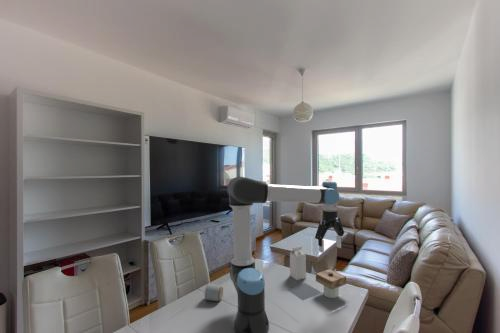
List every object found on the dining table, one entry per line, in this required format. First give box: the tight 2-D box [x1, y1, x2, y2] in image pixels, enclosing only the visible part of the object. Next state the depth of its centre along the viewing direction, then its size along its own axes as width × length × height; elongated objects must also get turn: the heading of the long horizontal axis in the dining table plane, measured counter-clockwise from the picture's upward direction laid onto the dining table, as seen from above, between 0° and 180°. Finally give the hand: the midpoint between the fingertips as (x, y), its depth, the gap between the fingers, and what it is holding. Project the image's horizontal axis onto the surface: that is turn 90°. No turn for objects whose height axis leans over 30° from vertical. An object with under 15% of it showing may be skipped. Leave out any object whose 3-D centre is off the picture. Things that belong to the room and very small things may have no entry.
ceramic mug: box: [204, 283, 224, 302], centre depth 129 cm, size 11×8×8 cm
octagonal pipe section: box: [323, 285, 340, 299], centre depth 130 cm, size 7×7×7 cm
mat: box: [286, 282, 322, 301], centre depth 133 cm, size 14×13×1 cm
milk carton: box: [289, 246, 307, 281], centre depth 151 cm, size 7×7×19 cm
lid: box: [315, 268, 347, 289], centre depth 130 cm, size 11×11×5 cm
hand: (330, 249), depth 130 cm, fingers open, 13 cm apart
